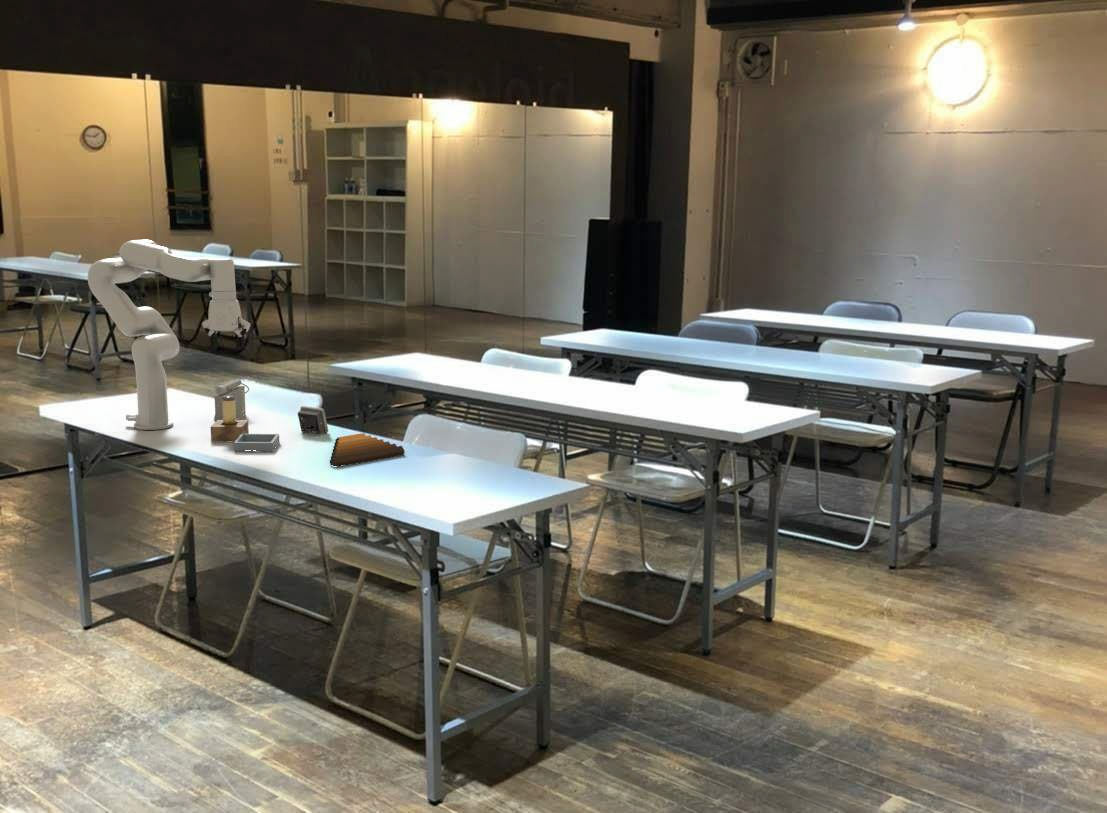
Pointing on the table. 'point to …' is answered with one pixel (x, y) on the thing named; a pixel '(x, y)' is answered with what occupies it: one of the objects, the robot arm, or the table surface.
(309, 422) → the electrical switch
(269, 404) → the table surface
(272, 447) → the parts tray
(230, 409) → the brass pin
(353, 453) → the pan flute
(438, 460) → the table surface
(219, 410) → the geiger counter
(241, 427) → the brown square frame
